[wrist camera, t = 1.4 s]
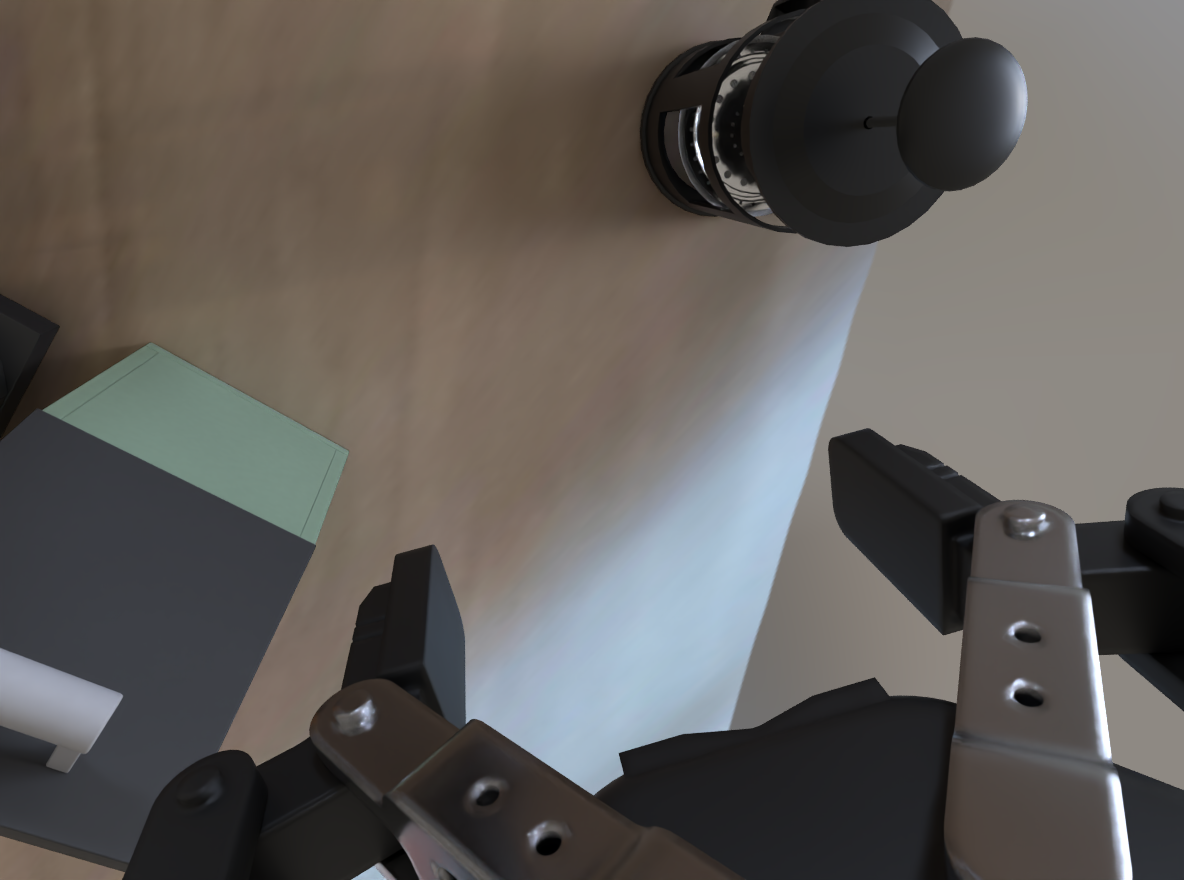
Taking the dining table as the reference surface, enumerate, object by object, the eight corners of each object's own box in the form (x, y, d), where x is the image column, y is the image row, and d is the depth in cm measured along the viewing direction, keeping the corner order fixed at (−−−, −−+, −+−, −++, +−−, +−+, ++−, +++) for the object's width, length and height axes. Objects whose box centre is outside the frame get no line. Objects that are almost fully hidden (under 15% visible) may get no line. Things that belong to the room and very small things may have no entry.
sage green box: (245, 607, 49) (183, 739, 38) (48, 520, 44) (-85, 641, 34) (349, 450, 46) (315, 544, 35) (150, 341, 41) (41, 409, 31)
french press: (745, 249, 45) (992, 339, 24) (609, 189, 42) (754, 230, 21) (835, 56, 42) (1213, -37, 21) (694, -23, 39) (964, -222, 18)
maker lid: (152, 881, 24) (204, 830, 21) (-324, 741, 19) (-333, 655, 17) (310, 553, 35) (355, 494, 32) (33, 419, 30) (61, 339, 28)
